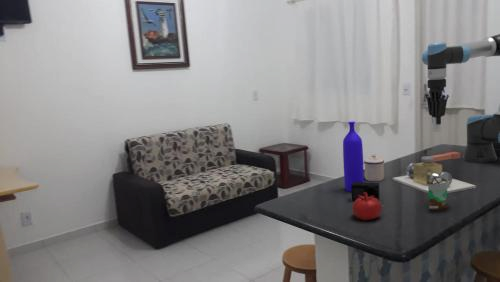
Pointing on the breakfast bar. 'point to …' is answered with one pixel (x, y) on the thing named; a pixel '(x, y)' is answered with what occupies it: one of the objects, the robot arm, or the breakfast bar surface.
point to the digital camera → (365, 190)
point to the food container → (438, 193)
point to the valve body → (426, 172)
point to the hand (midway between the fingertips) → (436, 131)
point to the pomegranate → (366, 207)
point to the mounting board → (409, 181)
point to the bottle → (352, 158)
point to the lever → (440, 157)
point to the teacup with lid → (374, 168)
